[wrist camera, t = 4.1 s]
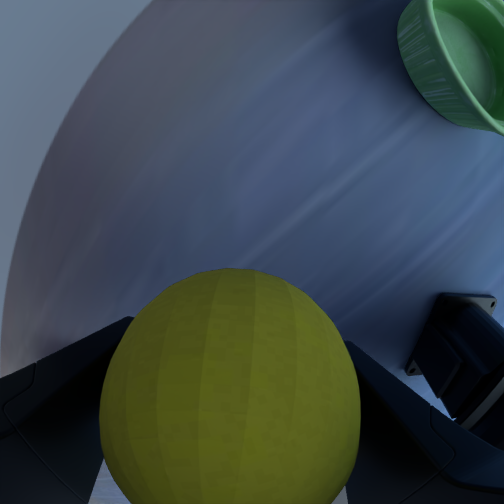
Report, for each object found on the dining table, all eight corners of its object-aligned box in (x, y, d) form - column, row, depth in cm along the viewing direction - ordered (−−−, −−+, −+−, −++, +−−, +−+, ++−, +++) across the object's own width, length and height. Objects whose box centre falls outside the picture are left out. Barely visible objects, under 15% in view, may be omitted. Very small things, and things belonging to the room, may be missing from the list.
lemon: (275, 381, 11) (284, 569, 3) (146, 332, 10) (60, 520, 3) (351, 271, 9) (479, 497, 2) (194, 199, 8) (-24, 429, 1)
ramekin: (362, -11, 9) (393, -50, 5) (474, 12, 8) (513, -4, 4) (409, 139, 12) (463, 141, 8) (509, 135, 11) (556, 141, 7)
